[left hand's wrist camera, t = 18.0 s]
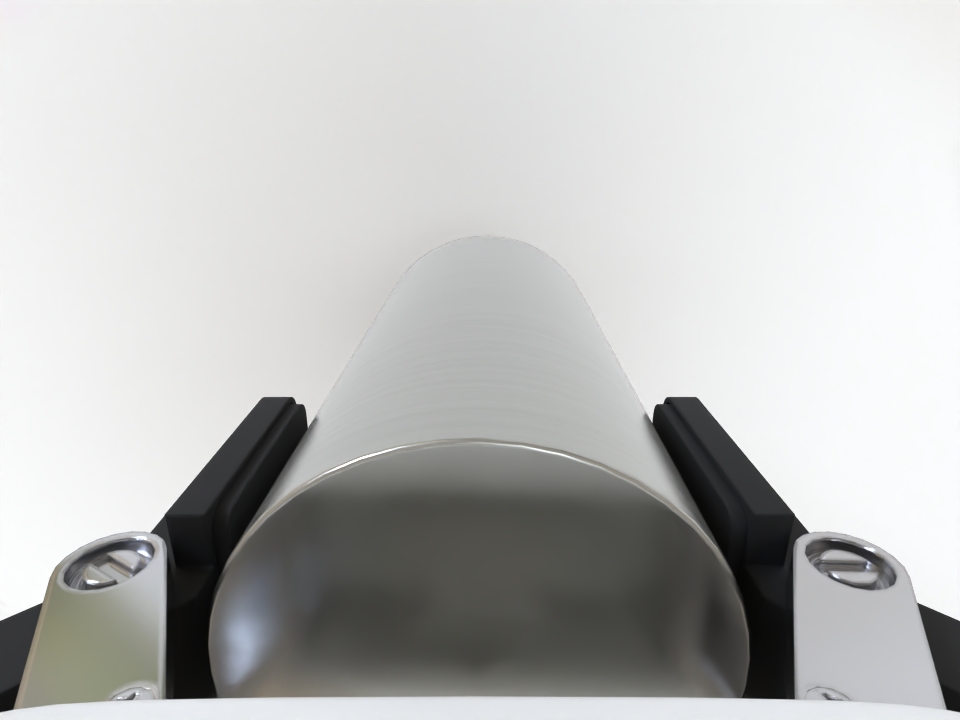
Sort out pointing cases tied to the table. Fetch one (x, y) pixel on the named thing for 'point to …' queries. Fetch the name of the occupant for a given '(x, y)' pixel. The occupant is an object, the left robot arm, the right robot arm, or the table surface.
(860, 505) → the table surface
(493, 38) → the table surface
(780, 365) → the table surface
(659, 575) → the can
